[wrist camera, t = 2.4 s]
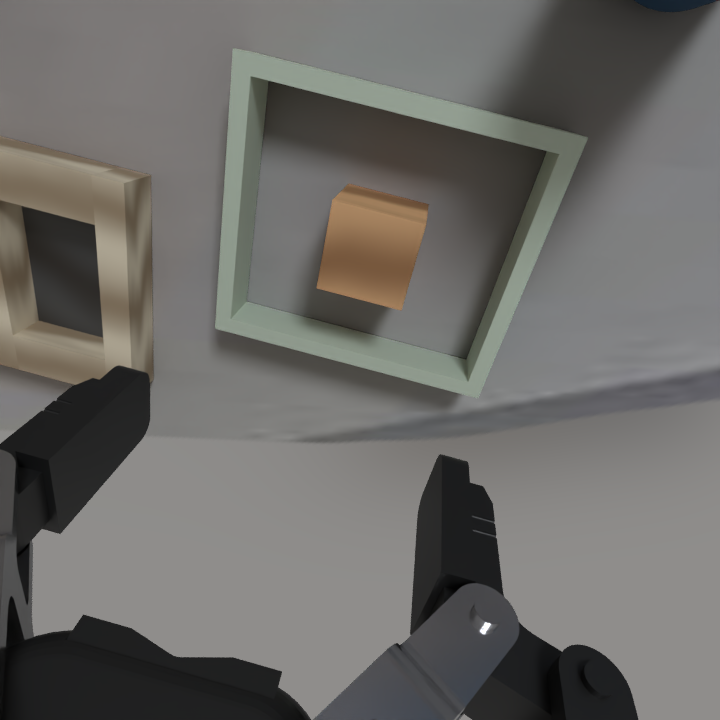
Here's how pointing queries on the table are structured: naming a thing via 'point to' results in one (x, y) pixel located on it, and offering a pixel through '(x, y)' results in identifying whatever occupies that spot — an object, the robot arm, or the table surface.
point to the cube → (371, 245)
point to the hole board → (73, 265)
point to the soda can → (673, 4)
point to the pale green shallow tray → (343, 342)
